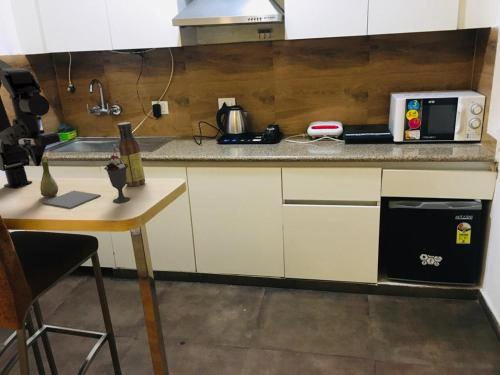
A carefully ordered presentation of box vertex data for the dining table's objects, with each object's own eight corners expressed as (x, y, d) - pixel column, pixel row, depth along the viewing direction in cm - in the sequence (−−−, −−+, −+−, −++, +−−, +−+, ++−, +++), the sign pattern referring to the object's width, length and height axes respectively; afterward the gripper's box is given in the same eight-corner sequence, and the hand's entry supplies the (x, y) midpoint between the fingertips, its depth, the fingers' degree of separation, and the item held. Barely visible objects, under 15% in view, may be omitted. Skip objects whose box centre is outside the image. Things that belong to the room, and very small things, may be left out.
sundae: (126, 194, 128) (118, 145, 123) (137, 199, 123) (130, 148, 118) (105, 201, 124) (96, 150, 119) (116, 206, 119) (107, 153, 114)
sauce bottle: (147, 180, 140) (138, 120, 134) (143, 186, 134) (134, 124, 128) (127, 182, 140) (117, 121, 134) (122, 188, 134) (112, 125, 128)
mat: (42, 203, 125) (42, 202, 125) (73, 191, 134) (73, 190, 134) (70, 208, 119) (70, 207, 119) (100, 196, 128) (100, 194, 128)
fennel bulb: (46, 191, 134) (41, 154, 129) (62, 192, 134) (58, 155, 129) (37, 198, 128) (32, 160, 124) (53, 199, 128) (49, 161, 124)
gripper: (-20, 118, 122) (-6, 170, 127) (20, 119, 113) (33, 175, 118) (16, 112, 132) (28, 161, 136) (56, 112, 123) (67, 165, 127)
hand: (38, 165), depth 129 cm, fingers closed
